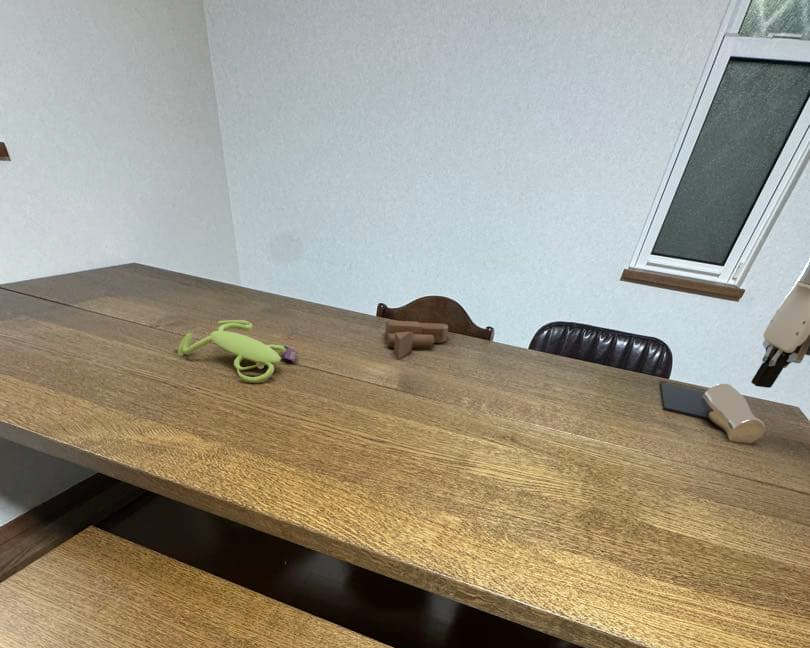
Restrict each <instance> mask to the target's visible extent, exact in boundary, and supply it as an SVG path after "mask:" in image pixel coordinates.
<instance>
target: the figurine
mask: <svg viewBox="0 0 810 648" xmlns="http://www.w3.org/2000/svg"><path fill="white" fill-rule="evenodd" d="M217 325H218V328H217V330H213V331H211V333H210V334H209V335H208V336H205V337H204V338H202V339H200V340H199V341H196V342H194V343H192V344H191V342H192V341H193V338H194V334H193V333H192V332H188V333H186V334H185V336H184V337H183V339H182V340H181V341H180V344H179V346H178V348H177V355H178V356H179V357H183V356H184V355H188V356H189V355H191V354H193V353H194V352H196V351H197V350H198V349H200V348H202V347H204V346H205V345H208V344H209V343H211V342H213V343H214V344H215V345H217V347H220V348H221V349H222V350H224V351H225V352H227V353H230V354H231V355H234V356H235V357H236V358H235V359H234V360H233V366H234V369H235V370H237V371H236V372H237V375H238V376H239V378H240V380H243V381H244V382H247V383H251V384H258V383H263V382H265V381H266V380H268V379H270V378H271V377H272V375H274V372H275V365H277V364H279V363H281V360H282V358H283V359H285V360H289V361H292V362H295V361H296V357H297V354H298V351H297V350H295V349H292V348H290V347H288V346H286V345H279V344H277V345H276V344H272V343H271V344H265V343H264V342H262V341H260V340H257V339H256V338H252V337H251V336H248V335H244V334H241V333H238V332H234V331H228V330H230V329H237V330H242V331H247V332H248V331H251V330H253V327H254V326H253V324H252V323H251V322H250V321H248V320H244V319H227V320H218V322H217ZM190 344H191V345H190ZM277 351H281V352H282V353H283V355H282V354H281V355H279V353H278V352H277ZM243 360H247V361H250V362H254V363H255V364H254V365H250V366H245V367H243V366H241V362H242V361H243ZM265 366H267V367H268V368H267V370H266V372H265V373H263V374H261V375H258V376H254V377H253V376H248V375H245V374H243V373H241V371H247V370H250V369H255V368H257V369H258V370H262V369H264V368H265Z"/></svg>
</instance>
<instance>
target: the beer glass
mask: <svg viewBox="0 0 810 648" xmlns="http://www.w3.org/2000/svg"><path fill="white" fill-rule="evenodd" d="M704 392H705V393H704V395H703V396H702V399H701V406H702V408H703V409H704V411H705V413H706V415H707V416H708V417H709V419H710V420H711V421H710V422H712V423H713V424H714V425H716V426H717V427H719V428H720V429H721V430H723V431H724V432H725V433H726V435H727V439H728V441H730V442H736V443H742V444H750V445H751V444H753V443H754V442H756V441H758V440H759V439H760V438H761V437H762V436H763V434H764V433H765V429H766V427H765V426H766V425H765V423H764V422H763V421H762V420H761V419H759V418H758V417H756V416H755V415H754V414H753V413H752V411H751V409H750V406H749V404H748V402H747V400H746V398H745V397H744V396H743V395H742V394H741V392H740V391H738V390H737V389H736V388H734V386H732V385H731V384H729V383H718V384H716V385H713V386H711V387H710V388H709V389H707V390H706V391H704Z"/></svg>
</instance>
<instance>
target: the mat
mask: <svg viewBox="0 0 810 648" xmlns="http://www.w3.org/2000/svg"><path fill="white" fill-rule="evenodd" d="M659 387H660V394H661V402H662V403H661V404H662V410H663V411H668V412H670V413H671V412H672V413H676V414H680V415H684V416H688V417H692V418H697V419H701V420H704V421H705V420H706V421H710V422H712V421H711V420H710V419H709V417H708V416H707V415H706V413H705V411H704V409H703V408H702V406H701V399H702V396H703V395H704V393H705V392H706V391H701V390H697V389H692V388H688V387H683V386H679V385H675V384H670V383H665V382H660V384H659Z"/></svg>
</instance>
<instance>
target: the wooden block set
mask: <svg viewBox="0 0 810 648" xmlns="http://www.w3.org/2000/svg"><path fill="white" fill-rule="evenodd" d="M384 333H385V334H384V337H385V340H386V346H387V347H388V348H393V354H394V355H395V358H396V359H397V360H398V361H399V360H401V359H402V358H405V357H407V356H408V355H411V354H413V348H414V349H415V348H417V349H432V348H434V344H442V343H444V342H446V341H447V339H448V333H449V326H448V324H447V323H435V322H434V323H433V322H420V321H411V320H410V321H409V320H390V319H389V320H386V322H385V332H384Z"/></svg>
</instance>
